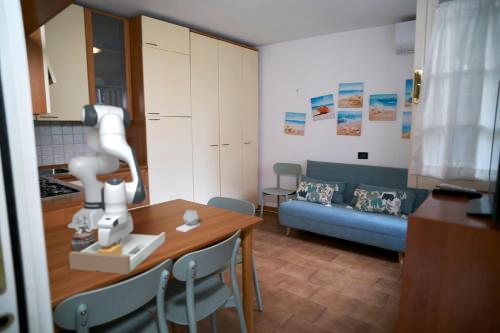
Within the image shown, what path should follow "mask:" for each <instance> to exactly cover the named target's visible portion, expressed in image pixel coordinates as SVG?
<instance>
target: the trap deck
mask: <svg viewBox="0 0 500 333" xmlns="http://www.w3.org/2000/svg"><path fill="white" fill-rule="evenodd" d="M165 242H166V232H165V231H162V232H161V233H160V234H158V235H155V234H154V235H152V234H140V233H139V234H138V233H137V234H135V233H129V234H127V235H125V236H124V237H123V241H122V254H121V255H115V254H102V253H97V250H99V249H101V248H102V246H100V245H99V241H96V242H94V244H93V245H91V246H89V247H88V248H86V249H84V250H82V251H81V252H77V251H74V250H72V251H70V252H69V253H68V257H69V269H70V270H73V269H76V270H75V271H85V270H86V271H87V272H96V271H100V272H101V273H108V272H109V273H110V274H122V275H129V273H131V272H132V271H133V270H134V269H136V268H137V267H138V266H139V265H140V264H141V263H142V262H143V261H145V260H146V259H147V258H148V257H149V256H150V255H151V254H152V253H154V252H155V251H156V250H157V249H158V248H159V247H160V246H162V245H163V244H164V243H165ZM111 245H113V244H111ZM86 271H85V272H86ZM100 272H99V273H100Z"/></svg>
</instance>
